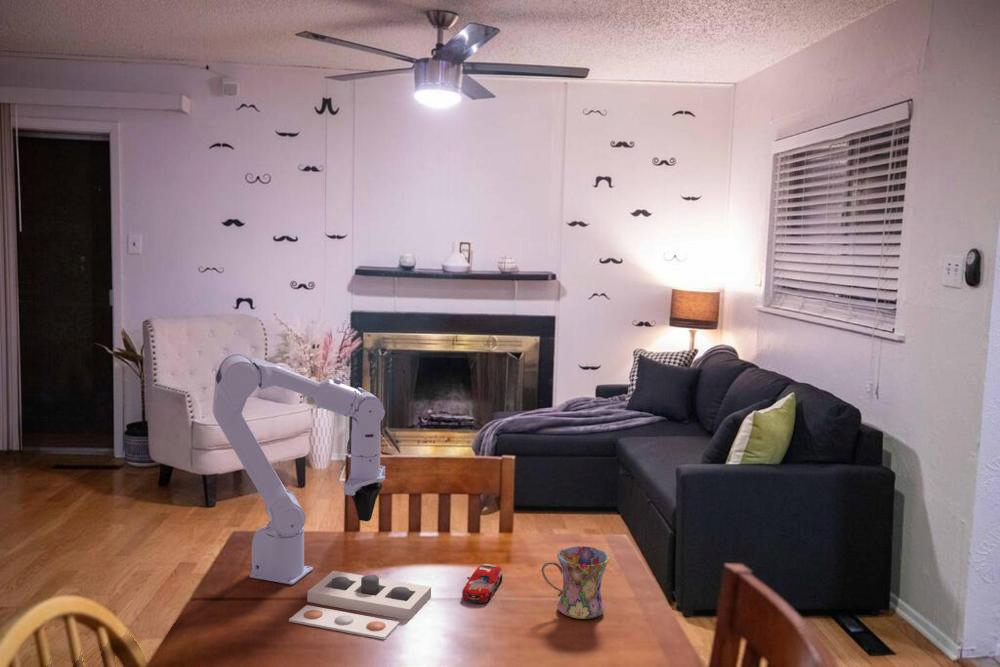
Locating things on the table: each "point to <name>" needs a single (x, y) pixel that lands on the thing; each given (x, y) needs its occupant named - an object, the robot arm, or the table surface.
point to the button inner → (340, 583)
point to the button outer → (400, 593)
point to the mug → (580, 581)
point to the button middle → (370, 584)
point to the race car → (482, 583)
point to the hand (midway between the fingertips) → (364, 519)
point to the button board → (369, 596)
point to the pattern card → (345, 622)
